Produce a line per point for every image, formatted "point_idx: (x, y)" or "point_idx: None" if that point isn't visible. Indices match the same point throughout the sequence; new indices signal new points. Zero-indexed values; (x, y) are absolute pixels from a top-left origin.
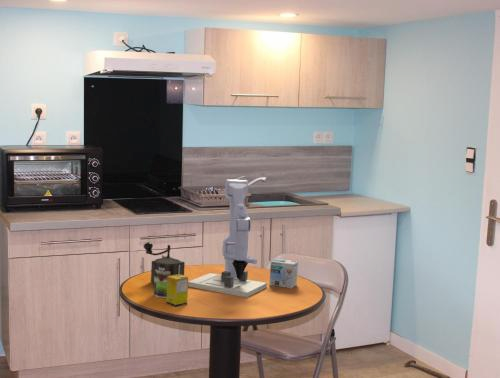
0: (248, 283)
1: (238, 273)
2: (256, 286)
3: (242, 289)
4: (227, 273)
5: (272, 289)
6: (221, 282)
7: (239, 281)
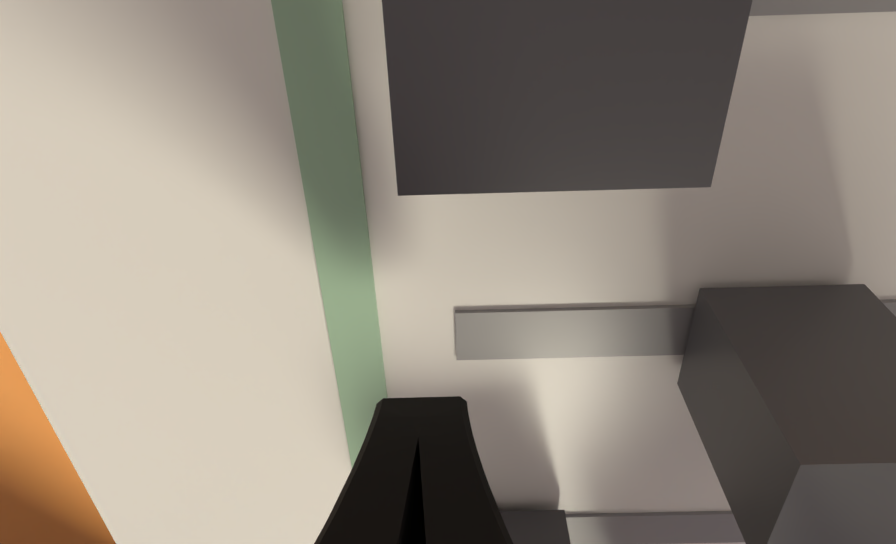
0: (333, 468)
1: (397, 509)
2: (92, 403)
3: (83, 12)
4: (809, 458)
5: (55, 516)
6: (840, 252)
7: (529, 479)
